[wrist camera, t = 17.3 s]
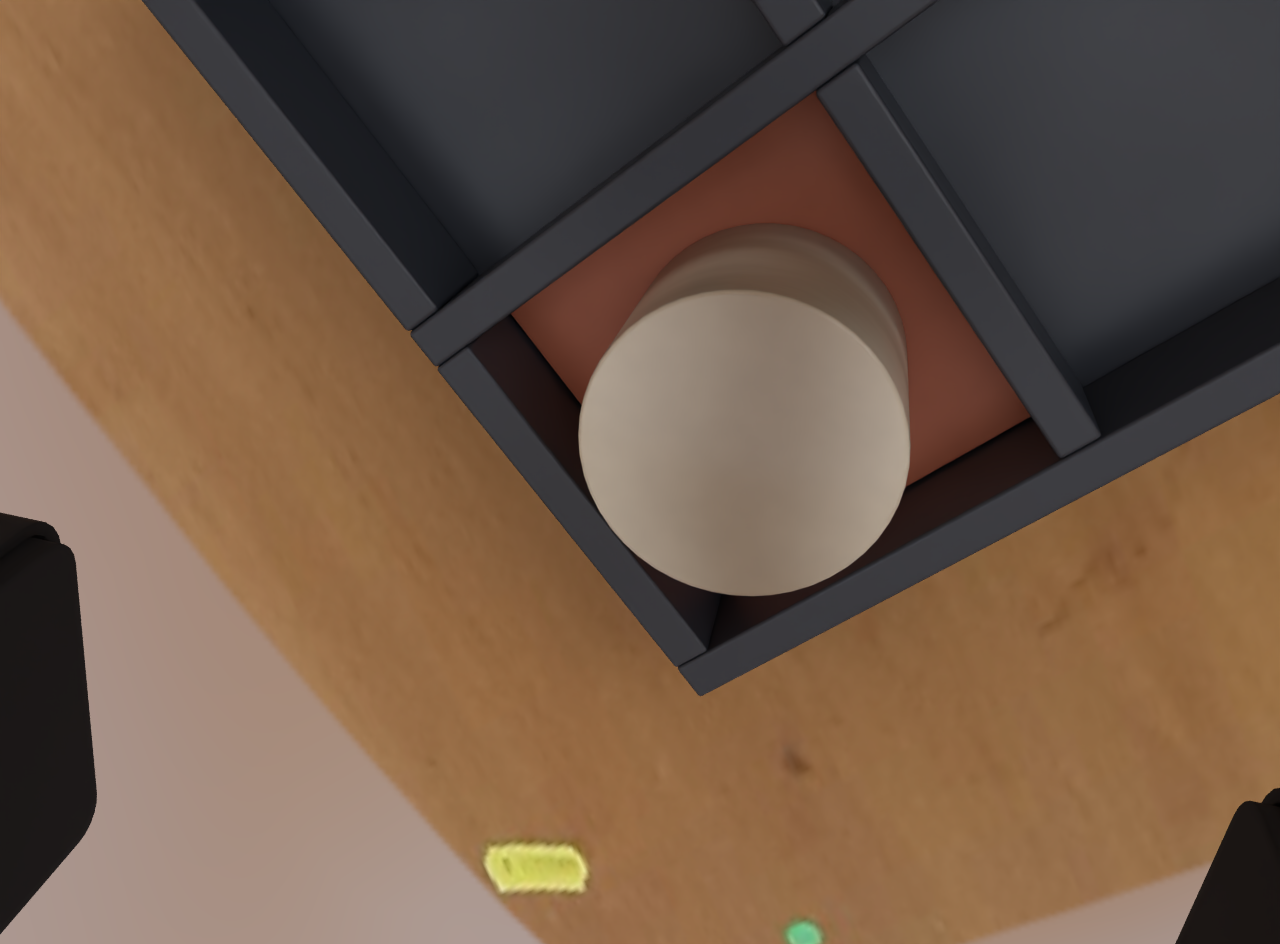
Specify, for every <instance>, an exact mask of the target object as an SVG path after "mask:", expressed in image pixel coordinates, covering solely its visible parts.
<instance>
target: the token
mask: <svg viewBox="0 0 1280 944" xmlns="http://www.w3.org/2000/svg"><path fill="white" fill-rule="evenodd" d="M578 439H579V454H580V459H581V464H582V469H583V474H584V477H585V480H586V482H587V485H588V488H589V491H590V494H591V496H592V498H593V500H594V501H595V503H596V505H597V507H598V509H599V511H600V513H601V514H602V516H603V517H604V519H605V520H606V522H607V523H608V525H609V526H610V528H611V529H612V530H613V531H614V532H615V534H616V535H617V536H618V537H619V538H620V539H621V541H622V542H623V543H624V544H625V545H626V546H627V547H629V548H630V549H631V550H632V551H633V552H634V553H635V554H636V555H637V556H638V557H640V558H641V559H643V560H644V561H645V562H647V563H648V564H650V565H651V566H652V567H654V568H655V569H657V570H659V571H661V572H662V573H664V574H666V575H668V576H670V577H671V578H674V579H676V580H678V581H681V582H683V583H686V584H688V585H690V586H693V587H697V588H700V589H704V590H707V591H711V592H716V593H722V594H728V595H739V596H764V595H775V594H781V593H786V592H792V591H795V590H798V589H802V588H805V587H808V586H812V585H814V584H816V583H818V582H821V581H823V580H825V579H827V578H830V577H831V576H833V575H835V574H836V573H838V572H840V571H841V570H843V569H845V568H846V567H848V566H849V565H850V564H852V563H853V562H854V561H855V560H857V559H858V558H859V557H860V556H862V555H863V554H864V553H865V552H866V551H867V550H868V549H869V548H870V547H871V546H872V545H873V544H874V543H875V542H876V541H877V539H878V538H879V537H880V535H881V534H882V533H883V531H884V530H885V528H886V527H887V526H888V524H889V523H890V521H891V519H892V517H893V515H894V513H895V511H896V510H897V508H898V506H899V503H900V500H901V498H902V495H903V492H904V489H905V486H906V481H907V476H908V471H909V466H910V417H909V388H908V359H907V345H906V336H905V332H904V327H903V323H902V319H901V317H900V314H899V311H898V309H897V306H896V304H895V302H894V300H893V298H892V296H891V295H890V293H889V291H888V289H887V287H886V286H885V285H884V283H883V282H882V281H881V279H880V278H879V277H878V275H877V274H876V273H875V271H874V270H873V269H872V268H871V267H870V266H869V265H868V264H867V263H866V262H865V261H864V260H863V259H862V258H860V257H859V256H858V255H856V254H855V253H854V252H852V251H851V250H850V249H848V248H847V247H845V246H844V245H842V244H840V243H839V242H837V241H835V240H833V239H832V238H830V237H827V236H825V235H822V234H820V233H817V232H815V231H812V230H809V229H805V228H801V227H797V226H792V225H785V224H777V223H756V224H748V225H741V226H736V227H732V228H728V229H725V230H721V231H718V232H716V233H713V234H711V235H709V236H706V237H704V238H702V239H700V240H699V241H697V242H695V243H693V244H692V245H690V246H688V247H687V248H685V249H684V250H683V251H682V252H680V253H679V254H678V255H677V256H675V257H674V258H673V259H672V260H671V261H670V262H669V263H668V264H667V265H666V266H665V267H664V268H663V269H662V270H661V271H660V273H659V274H658V275H657V277H656V278H655V280H654V281H653V282H652V284H651V285H650V286H649V288H648V289H647V291H646V292H645V294H644V295H643V297H642V298H641V300H640V301H639V303H638V304H637V306H636V307H635V309H634V310H633V312H632V313H631V315H630V316H629V318H628V319H627V321H626V322H625V324H624V325H623V327H622V328H621V330H620V331H619V333H618V334H617V336H616V337H615V339H614V340H613V342H612V343H611V345H610V346H609V347H608V349H607V350H606V352H605V353H604V355H603V356H602V358H601V359H600V361H599V363H598V365H597V367H596V369H595V370H594V372H593V374H592V376H591V378H590V381H589V383H588V386H587V389H586V391H585V394H584V397H583V402H582V407H581V411H580V417H579V431H578Z"/></svg>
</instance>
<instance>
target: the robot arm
mask: <svg viewBox="0 0 1280 944" xmlns="http://www.w3.org/2000/svg"><path fill="white" fill-rule="evenodd" d="M96 801H97V790H96V779H95V768H94V758H93V747H92V736H91V724H90V713H89V702H88V691H87V681H86V670H85V660H84V648H83V637H82V626H81V615H80V605H79V593H78V582H77V572H76V562H75V558H74V554H73V552H72V551H71V549H70V548H69V547H68V546H66V545H64V544H61V543H60V539H59V535H58V534H57V532H56V531H55V529H54V527H53V526H51V525H49V524H47V523H46V522H42V521H37V520H32V519H28V518H23V517H18V516H14V515H9V514H4V513H0V934H1V933H2V932H3V930H4V929H5V928H6V927H7V926H8V925H9V923H10V922H11V921H12V920H13V919H14V918H15V916H16V915H17V914H18V913H19V912H20V911H21V909H22V908H23V907H24V906H25V905H26V904H27V902H28V901H29V900H30V899H31V898H32V896H33V895H34V894H35V893H36V892H37V891H38V890H39V888H40V887H41V886H42V885H43V884H44V883H45V881H46V880H47V879H48V878H49V877H50V876H51V874H52V873H53V872H54V871H55V870H56V869H57V867H58V866H59V865H60V864H61V863H62V862H63V860H64V859H65V858H66V857H67V856H68V855H69V853H70V852H71V851H72V850H73V849H74V847H75V846H76V845H77V844H78V843H79V842H80V840H81V839H82V838H83V836H84V835H85V833H86V831H87V829H88V827H89V825H90V823H91V821H92V818H93V815H94V812H95V807H96ZM1175 944H1280V788H1277V789H1273V790H1272V791H1271V792H1270V793H1269V794H1268V795H1266V797H1265V798H1264V800H1263V802H1262V803H1258V802H1254V801H1246V802H1244V803H1243V804H1242V805H1240V806H1239V807H1238V809H1237V811H1236V812H1235V814H1234V816H1233V818H1232V820H1231V823H1230V825H1229V827H1228V829H1227V831H1226V834H1225V836H1224V838H1223V840H1222V842H1221V845H1220V847H1219V849H1218V851H1217V853H1216V856H1215V858H1214V860H1213V862H1212V864H1211V867H1210V869H1209V871H1208V873H1207V876H1206V878H1205V880H1204V882H1203V884H1202V887H1201V889H1200V891H1199V893H1198V895H1197V898H1196V899H1195V902H1194V904H1193V906H1192V909H1191V911H1190V913H1189V915H1188V917H1187V919H1186V921H1185V924H1184V926H1183V928H1182V930H1181V932H1180V935H1179V937H1178V939H1177V941H1176V943H1175Z"/></svg>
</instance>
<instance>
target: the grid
mask: <svg viewBox="0 0 1280 944" xmlns="http://www.w3.org/2000/svg"><path fill="white" fill-rule="evenodd" d="M142 1H143V2H144V4H145V5H146V6H147V7H148V9H149V10H150V11H151V12H152V14H153V15H154V16H155V17H156V19H157V20H158V21H159V22H160V24H161V25H162V26H163V27H164V29H165V30H166V31H167V32H168V34H169V35H170V36H171V37H172V39H173V40H174V41H175V42H176V44H177V45H178V46H179V47H180V49H181V50H182V51H183V52H184V54H185V55H186V56H187V57H188V59H189V60H190V61H191V62H192V64H193V65H194V66H195V67H196V69H197V70H198V71H199V72H200V74H201V75H202V76H203V77H204V79H205V80H206V81H207V82H208V84H209V85H210V86H211V87H212V89H213V90H214V91H215V92H216V93H217V95H218V96H219V97H220V98H221V100H222V101H223V102H224V103H225V105H226V106H227V107H228V108H229V110H230V111H231V112H232V113H233V115H234V116H235V117H236V118H237V120H238V121H239V122H240V123H241V125H242V126H243V127H244V128H245V130H246V131H247V132H248V133H249V135H250V136H251V137H252V138H253V140H254V141H255V142H256V143H257V145H258V146H259V147H260V148H261V150H262V151H263V152H264V153H265V155H266V156H267V157H268V158H269V160H270V161H271V162H272V163H273V165H274V166H275V167H276V168H277V170H278V171H279V172H280V173H281V175H282V176H283V177H284V178H285V180H286V181H287V182H288V183H289V185H290V186H291V187H292V188H293V190H294V191H295V192H296V193H297V195H298V196H299V197H300V198H301V200H302V201H303V202H304V203H305V204H306V206H307V207H308V208H309V209H310V211H311V212H312V213H313V214H314V216H315V217H316V218H317V219H318V221H319V222H320V223H321V224H322V226H323V227H324V228H325V229H326V231H327V232H328V233H329V234H330V236H331V237H332V238H333V239H334V241H335V242H336V243H337V244H338V246H339V247H340V248H341V249H342V251H343V252H344V253H345V254H346V256H347V257H348V258H349V259H350V261H351V262H352V263H353V264H354V266H355V267H356V268H357V269H358V271H359V272H360V273H361V274H362V276H363V277H364V278H365V279H366V281H367V282H368V283H369V284H370V286H371V287H372V288H373V289H374V291H375V292H376V293H377V294H378V296H379V297H380V298H381V299H382V301H383V302H384V303H385V304H386V306H387V307H388V308H389V309H390V311H391V312H392V313H393V314H394V316H395V317H396V318H397V319H398V320H399V322H400V323H401V324H402V325H403V327H404V328H405V329H406V330H408V331H410V330H412V331H411V333H410V335H411V337H412V338H413V340H414V341H415V342H416V343H417V345H418V346H419V347H420V348H421V350H422V351H423V352H424V353H425V355H426V356H427V357H428V358H429V360H430V361H431V362H432V363H433V365H435V366H439V367H438V371H439V373H440V374H441V375H442V376H443V378H444V379H445V380H446V381H447V383H448V384H449V385H450V386H451V388H452V389H453V390H454V391H455V393H456V394H457V395H458V396H459V398H460V399H461V400H462V401H463V403H464V404H465V405H466V406H467V408H468V409H469V410H470V411H471V413H472V414H473V415H474V416H475V418H476V419H477V420H478V421H479V423H480V424H481V425H482V426H483V428H484V429H485V430H486V431H487V433H488V434H489V435H490V436H491V438H492V439H493V440H494V441H495V443H496V444H497V445H498V446H499V448H500V449H501V450H502V451H503V453H504V454H505V455H506V456H507V457H508V459H509V460H510V461H511V462H512V464H513V465H514V466H515V467H516V469H517V470H518V471H519V472H520V474H521V475H522V476H523V477H524V479H525V480H526V481H527V482H528V484H529V485H530V486H531V487H532V489H533V490H534V491H535V492H536V494H537V495H538V496H539V497H540V499H541V500H542V501H543V502H544V504H545V505H546V506H547V507H548V509H549V510H550V511H551V512H552V514H553V515H554V516H555V517H556V519H557V520H558V521H559V522H560V524H561V525H562V526H563V527H564V529H565V530H566V531H567V532H568V534H569V535H570V536H571V537H572V539H573V540H574V541H575V542H576V544H577V545H578V546H579V547H580V549H581V550H582V551H583V552H584V554H585V555H586V556H587V557H588V558H589V560H590V561H591V562H592V563H593V565H594V566H595V567H596V568H597V570H598V571H599V572H600V573H601V575H602V576H603V577H604V578H605V580H606V581H607V582H608V583H609V585H610V586H611V587H612V588H613V590H614V591H615V592H616V593H617V595H618V596H619V597H620V598H621V600H622V601H623V602H624V603H625V605H626V606H627V607H628V608H629V610H630V611H631V612H632V613H633V615H634V616H635V617H636V618H637V620H638V621H639V622H640V623H641V625H642V626H643V627H644V628H645V630H646V631H647V632H648V633H649V635H650V636H651V637H652V638H653V640H654V641H655V642H656V643H657V645H658V646H659V647H660V648H661V650H662V651H663V652H664V653H665V655H666V656H667V657H668V658H669V659H670V661H671V662H672V663H673V664H674V666H676V667H678V670H679V671H680V673H681V674H682V675H683V676H684V678H685V679H686V680H687V681H688V683H689V684H690V685H691V686H692V688H693V689H694V690H695V691H696V693H697V694H698V695H699V696H703V695H704V694H706V693H708V692H710V691H712V690H714V689H716V688H718V687H720V686H722V685H724V684H725V683H727V682H729V681H731V680H733V679H735V678H737V677H739V676H741V675H743V674H745V673H746V672H748V671H750V670H752V669H754V668H756V667H758V666H760V665H762V664H764V663H766V662H767V661H769V660H771V659H773V658H775V657H777V656H779V655H781V654H783V653H785V652H787V651H788V650H790V649H792V648H794V647H796V646H798V645H800V644H802V643H804V642H806V641H808V640H809V639H811V638H813V637H815V636H817V635H819V634H821V633H823V632H825V631H827V630H829V629H830V628H832V627H834V626H836V625H838V624H840V623H842V622H844V621H846V620H848V619H850V618H851V617H853V616H855V615H857V614H859V613H861V612H863V611H865V610H867V609H869V608H871V607H872V606H874V605H876V604H878V603H880V602H882V601H884V600H886V599H888V598H890V597H892V596H894V595H895V594H897V593H899V592H901V591H903V590H905V589H907V588H909V587H911V586H913V585H915V584H916V583H918V582H920V581H922V580H924V579H926V578H928V577H930V576H932V575H934V574H936V573H937V572H939V571H941V570H943V569H945V568H947V567H949V566H951V565H953V564H955V563H957V562H958V561H960V560H962V559H964V558H966V557H968V556H970V555H972V554H974V553H976V552H978V551H979V550H981V549H983V548H985V547H987V546H989V545H991V544H993V543H995V542H997V541H999V540H1000V539H1002V538H1004V537H1006V536H1008V535H1010V534H1012V533H1014V532H1016V531H1018V530H1020V529H1021V528H1023V527H1025V526H1027V525H1029V524H1031V523H1033V522H1035V521H1037V520H1039V519H1041V518H1042V517H1044V516H1046V515H1048V514H1050V513H1052V512H1054V511H1056V510H1058V509H1060V508H1062V507H1063V506H1065V505H1067V504H1069V503H1071V502H1073V501H1075V500H1077V499H1079V498H1081V497H1083V496H1084V495H1086V494H1088V493H1090V492H1092V491H1094V490H1096V489H1098V488H1100V487H1102V486H1104V485H1106V484H1107V483H1109V482H1111V481H1113V480H1115V479H1117V478H1119V477H1121V476H1123V475H1125V474H1127V473H1128V472H1130V471H1132V470H1134V469H1136V468H1138V467H1140V466H1142V465H1144V464H1146V463H1148V462H1149V461H1151V460H1153V459H1155V458H1157V457H1159V456H1161V455H1163V454H1165V453H1167V452H1169V451H1170V450H1172V449H1174V448H1176V447H1178V446H1180V445H1182V444H1184V443H1186V442H1188V441H1190V440H1191V439H1193V438H1195V437H1197V436H1199V435H1201V434H1203V433H1205V432H1207V431H1209V430H1211V429H1212V428H1214V427H1216V426H1218V425H1220V424H1222V423H1224V422H1226V421H1228V420H1230V419H1232V418H1233V417H1235V416H1237V415H1239V414H1241V413H1243V412H1245V411H1247V410H1249V409H1251V408H1253V407H1254V406H1256V405H1258V404H1260V403H1262V402H1264V401H1266V400H1268V399H1270V398H1272V397H1274V396H1275V395H1277V394H1279V393H1280V0H142ZM756 223H777V224H785V225H792V226H797V227H801V228H805V229H809V230H812V231H815V232H817V233H820V234H822V235H825V236H827V237H830V238H832V239H833V240H835V241H837V242H839V243H840V244H842V245H844V246H845V247H847V248H848V249H850V250H851V251H852V252H854V253H855V254H856V255H858V256H859V257H860V258H862V259H863V260H864V261H865V262H866V263H867V264H868V265H869V266H870V267H871V268H872V269H873V270H874V271H875V273H876V274H877V275H878V277H879V278H880V279H881V281H882V282H883V283H884V285H885V286H886V287H887V289H888V291H889V293H890V295H891V296H892V298H893V300H894V302H895V304H896V306H897V309H898V311H899V314H900V317H901V319H902V323H903V327H904V332H905V336H906V345H907V359H908V388H909V417H910V466H909V471H908V476H907V481H906V486H905V489H904V492H903V495H902V498H901V500H900V503H899V506H898V508H897V510H896V511H895V513H894V515H893V517H892V519H891V521H890V523H889V524H888V526H887V527H886V528H885V530H884V531H883V533H882V534H881V535H880V537H879V538H878V539H877V541H876V542H875V543H874V544H873V545H872V546H871V547H870V548H869V549H868V550H867V551H866V552H865V553H864V554H863V555H862V556H860V557H859V558H858V559H857V560H855V561H854V562H853V563H852V564H850V565H849V566H848V567H846V568H845V569H843V570H841V571H840V572H838V573H836V574H835V575H833V576H831V577H830V578H827V579H825V580H823V581H821V582H818V583H816V584H814V585H812V586H808V587H805V588H802V589H798V590H795V591H792V592H786V593H781V594H775V595H764V596H739V595H728V594H722V593H716V592H711V591H707V590H704V589H700V588H697V587H693V586H690V585H688V584H686V583H683V582H681V581H678V580H676V579H674V578H671V577H670V576H668V575H666V574H664V573H662V572H661V571H659V570H657V569H655V568H654V567H652V566H651V565H650V564H648V563H647V562H645V561H644V560H643V559H641V558H640V557H638V556H637V555H636V554H635V553H634V552H633V551H632V550H631V549H630V548H629V547H627V546H626V545H625V544H624V543H623V542H622V541H621V539H620V538H619V537H618V536H617V535H616V534H615V532H614V531H613V530H612V529H611V528H610V526H609V525H608V523H607V522H606V520H605V519H604V517H603V516H602V514H601V513H600V511H599V509H598V507H597V505H596V503H595V501H594V500H593V498H592V496H591V494H590V491H589V488H588V485H587V482H586V480H585V477H584V474H583V469H582V464H581V459H580V454H579V439H578V431H579V417H580V411H581V407H582V402H583V397H584V394H585V391H586V389H587V386H588V383H589V381H590V378H591V376H592V374H593V372H594V370H595V369H596V367H597V365H598V363H599V361H600V359H601V358H602V356H603V355H604V353H605V352H606V350H607V349H608V347H609V346H610V345H611V343H612V342H613V340H614V339H615V337H616V336H617V334H618V333H619V331H620V330H621V328H622V327H623V325H624V324H625V322H626V321H627V319H628V318H629V316H630V315H631V313H632V312H633V310H634V309H635V307H636V306H637V304H638V303H639V301H640V300H641V298H642V297H643V295H644V294H645V292H646V291H647V289H648V288H649V286H650V285H651V284H652V282H653V281H654V280H655V278H656V277H657V275H658V274H659V273H660V271H661V270H662V269H663V268H664V267H665V266H666V265H667V264H668V263H669V262H670V261H671V260H672V259H673V258H674V257H675V256H677V255H678V254H679V253H680V252H682V251H683V250H684V249H685V248H687V247H688V246H690V245H692V244H693V243H695V242H697V241H699V240H700V239H702V238H704V237H706V236H709V235H711V234H713V233H716V232H718V231H721V230H725V229H728V228H732V227H736V226H741V225H748V224H756Z"/></svg>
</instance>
